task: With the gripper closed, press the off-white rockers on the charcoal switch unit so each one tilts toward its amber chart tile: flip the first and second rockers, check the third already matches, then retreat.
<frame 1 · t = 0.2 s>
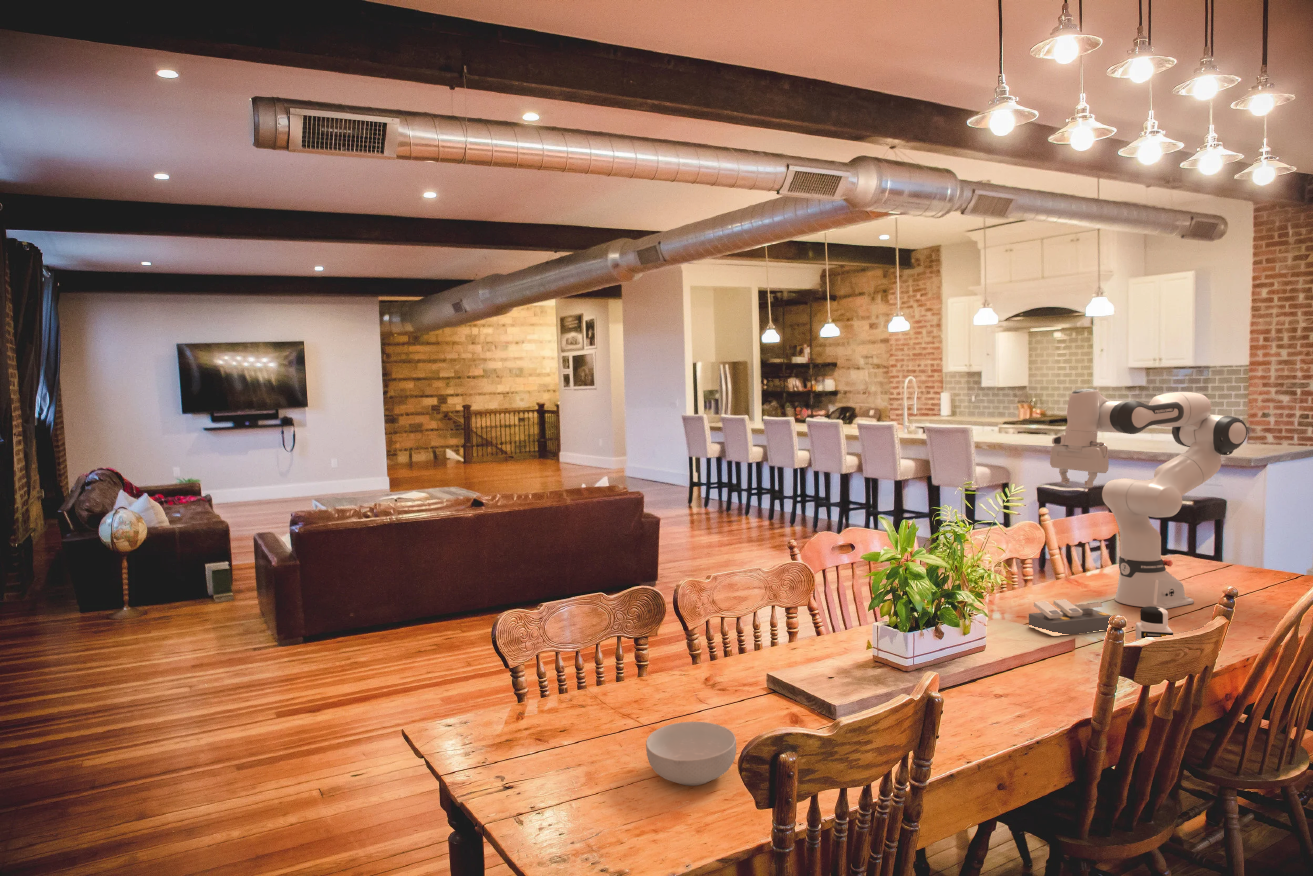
hand: (1076, 485, 251), 39 cm above the table, tool pointing down, fingers open, 8 cm apart
cereal bowl: (692, 777, 151), on the table
rocker 2: (1067, 607, 232), point 6 cm above the table, hinge at -16.0°
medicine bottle: (1154, 654, 210), on the table
rocker 1: (1087, 605, 234), point 6 cm above the table, hinge at 16.0°
rocker 3: (1048, 609, 231), point 6 cm above the table, hinge at -16.0°
switch unit: (1070, 628, 233), on the table
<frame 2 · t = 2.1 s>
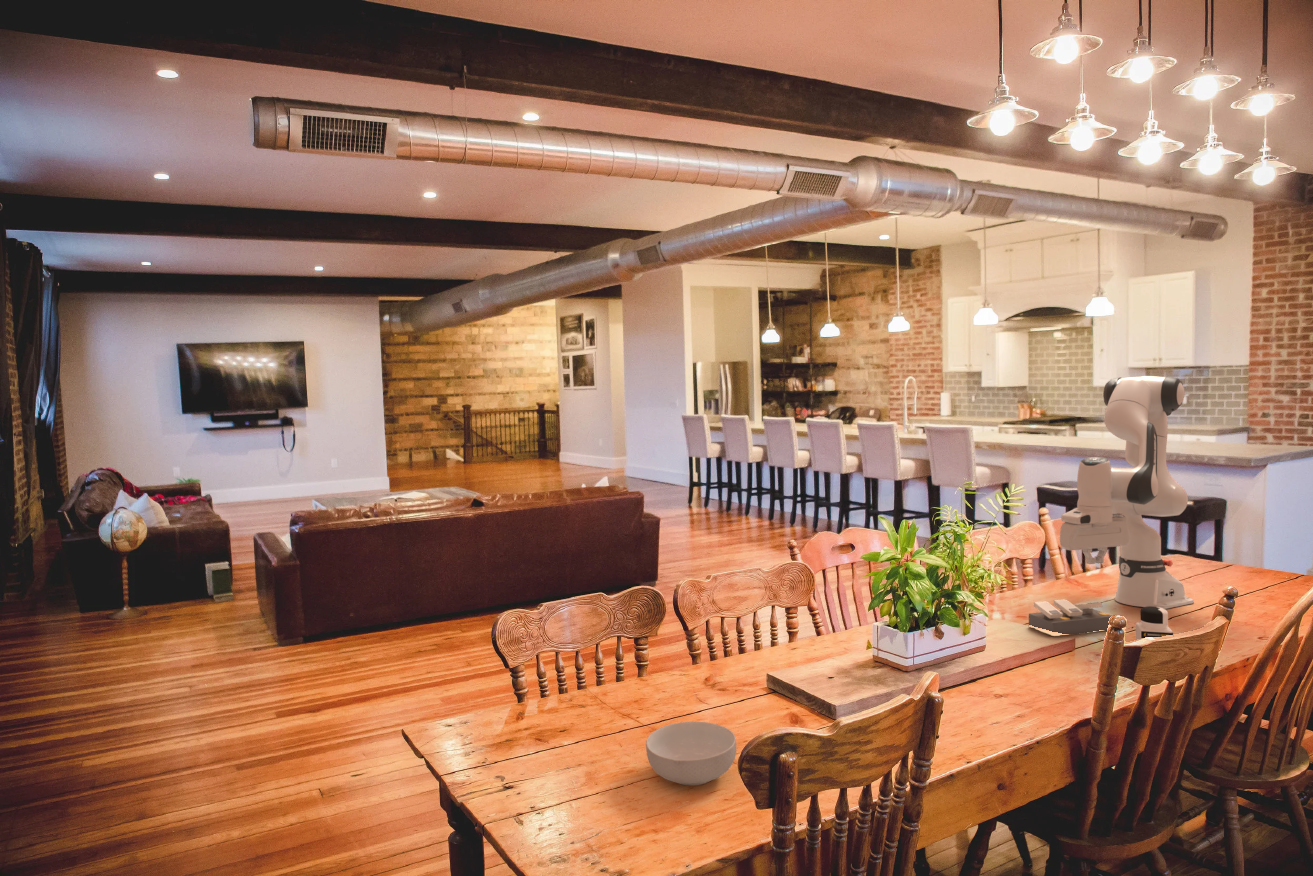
hand: (1094, 563, 230), 19 cm above the table, tool pointing down, fingers closed
nothing on the table moved.
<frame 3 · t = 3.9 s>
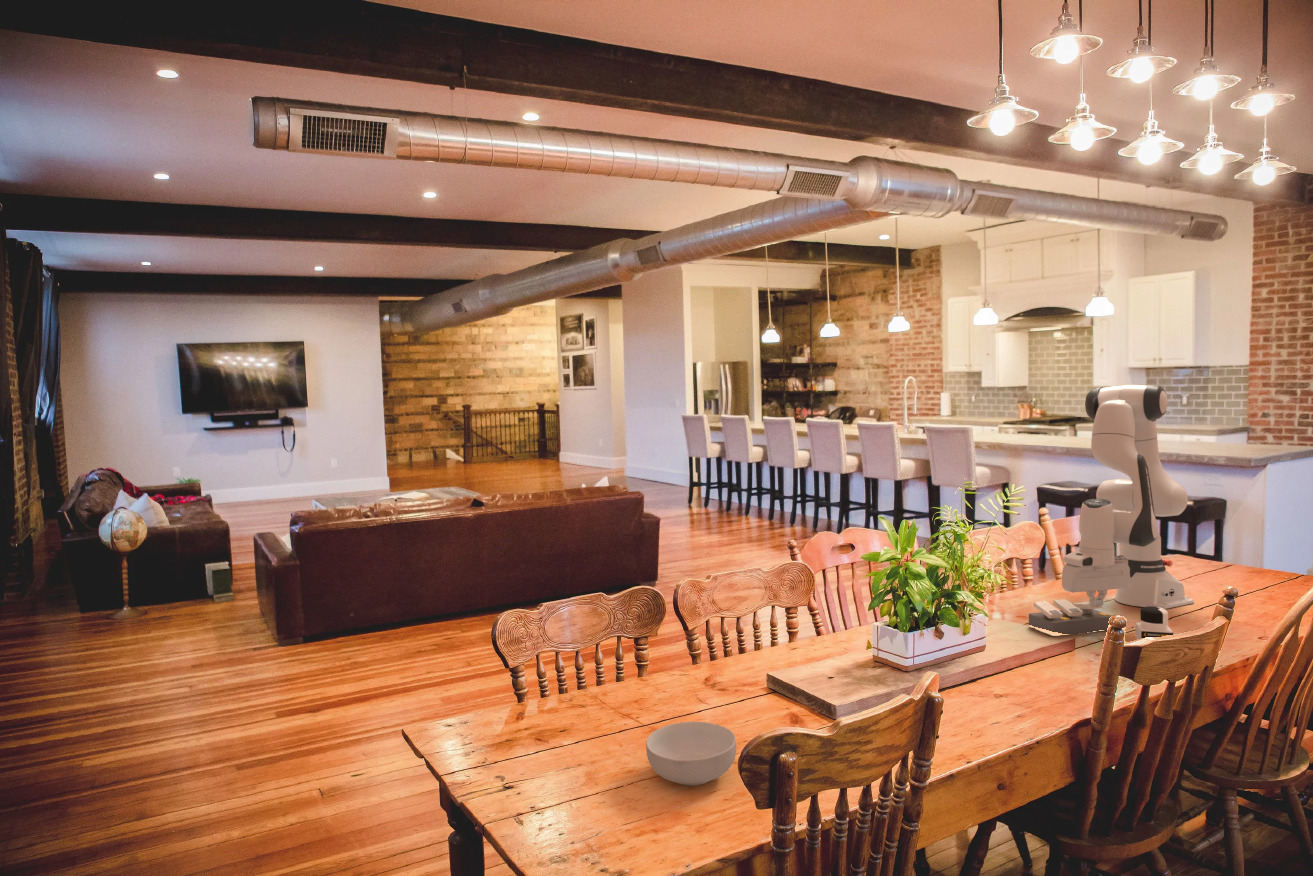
hand: (1096, 605, 230), 7 cm above the table, tool pointing down, fingers closed, pressing on rocker 1
rocker 1: (1087, 605, 234), point 6 cm above the table, hinge at 9.5°, touching gripper
everything else where it was.
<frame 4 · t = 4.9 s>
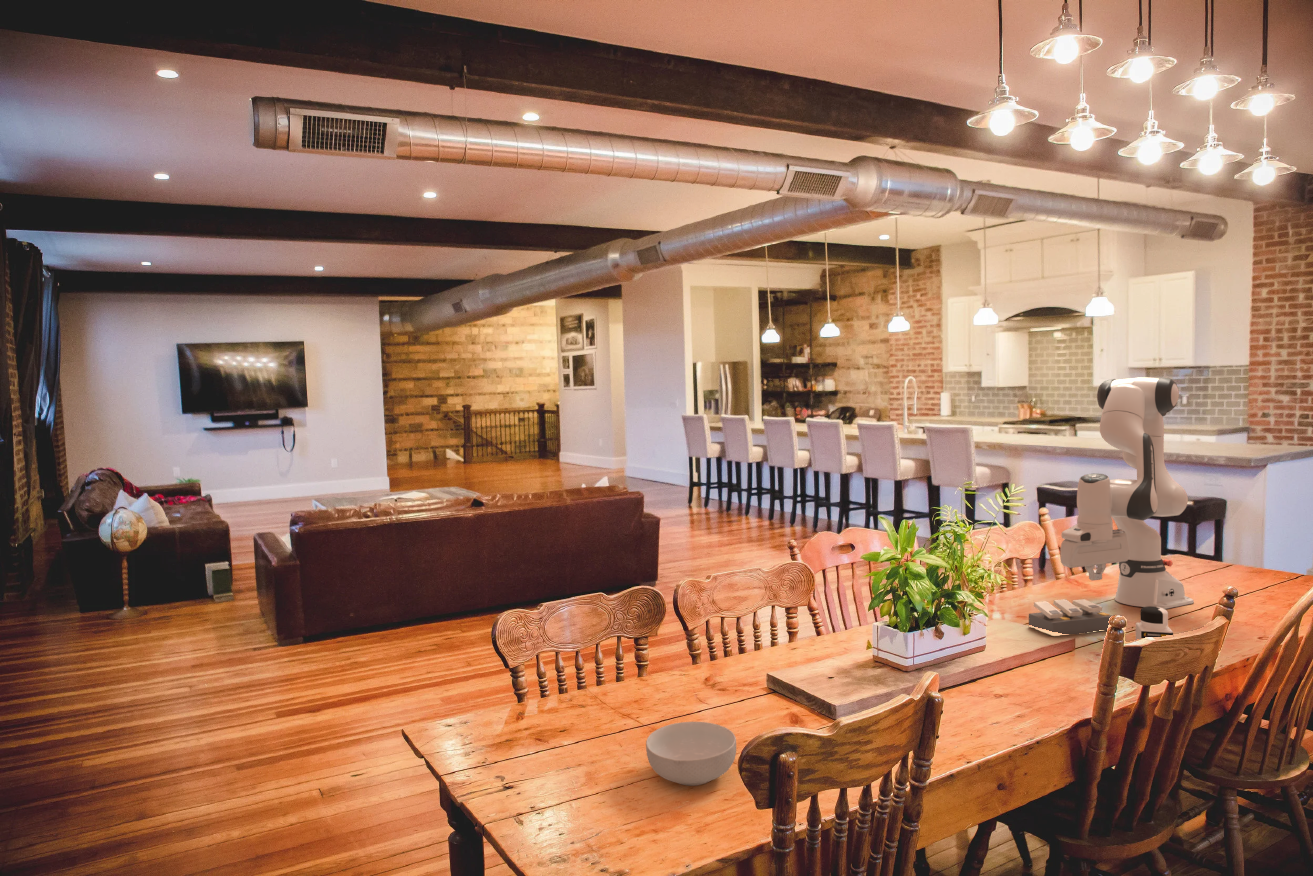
hand: (1095, 579, 231), 14 cm above the table, tool pointing down, fingers closed
rocker 1: (1087, 605, 234), point 6 cm above the table, hinge at -5.1°
everything else where it was.
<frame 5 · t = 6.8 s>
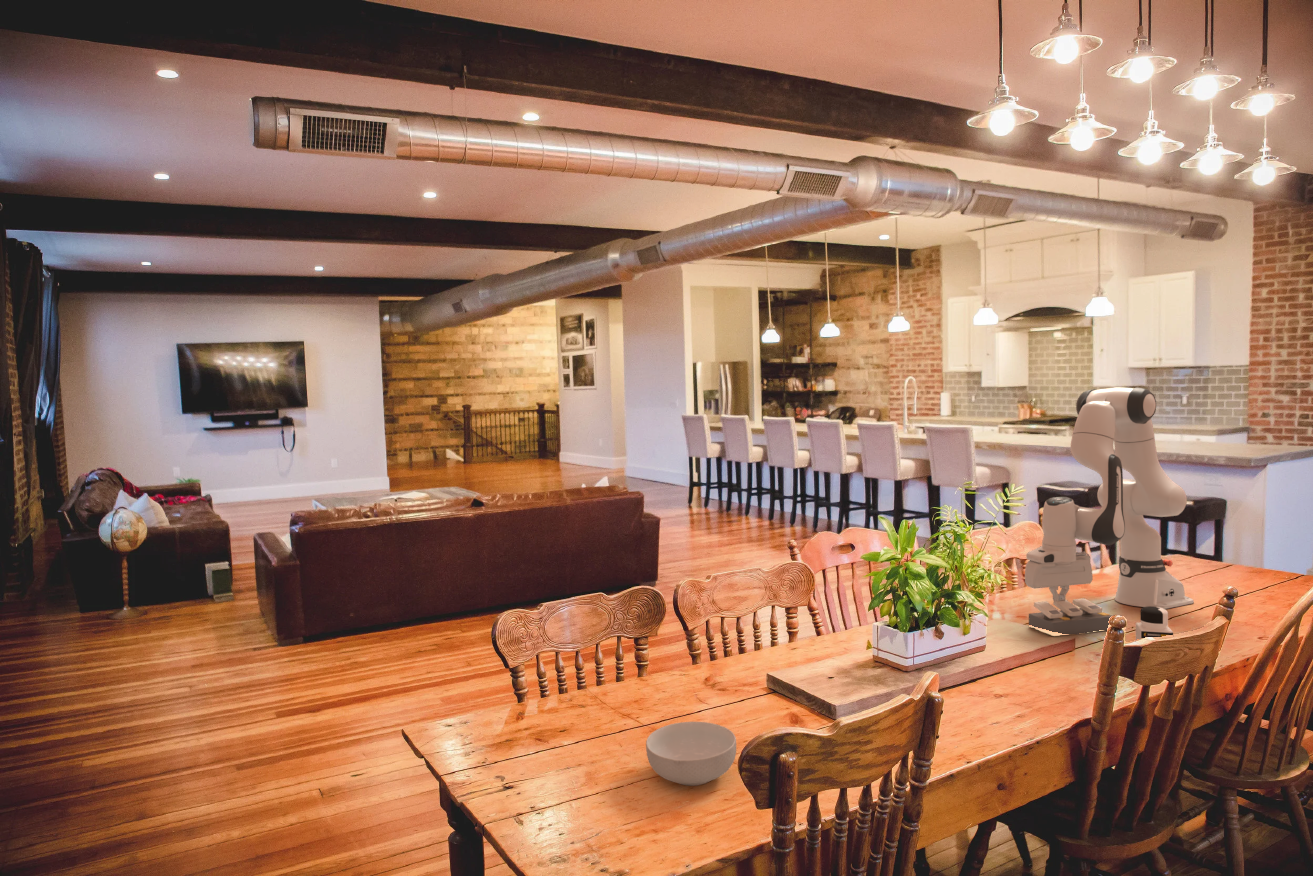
hand: (1059, 600, 235), 7 cm above the table, tool pointing down, fingers closed, pressing on rocker 2
rocker 2: (1067, 607, 232), point 6 cm above the table, hinge at -15.1°, touching gripper
rocker 1: (1087, 605, 234), point 6 cm above the table, hinge at -9.9°
everything else where it was.
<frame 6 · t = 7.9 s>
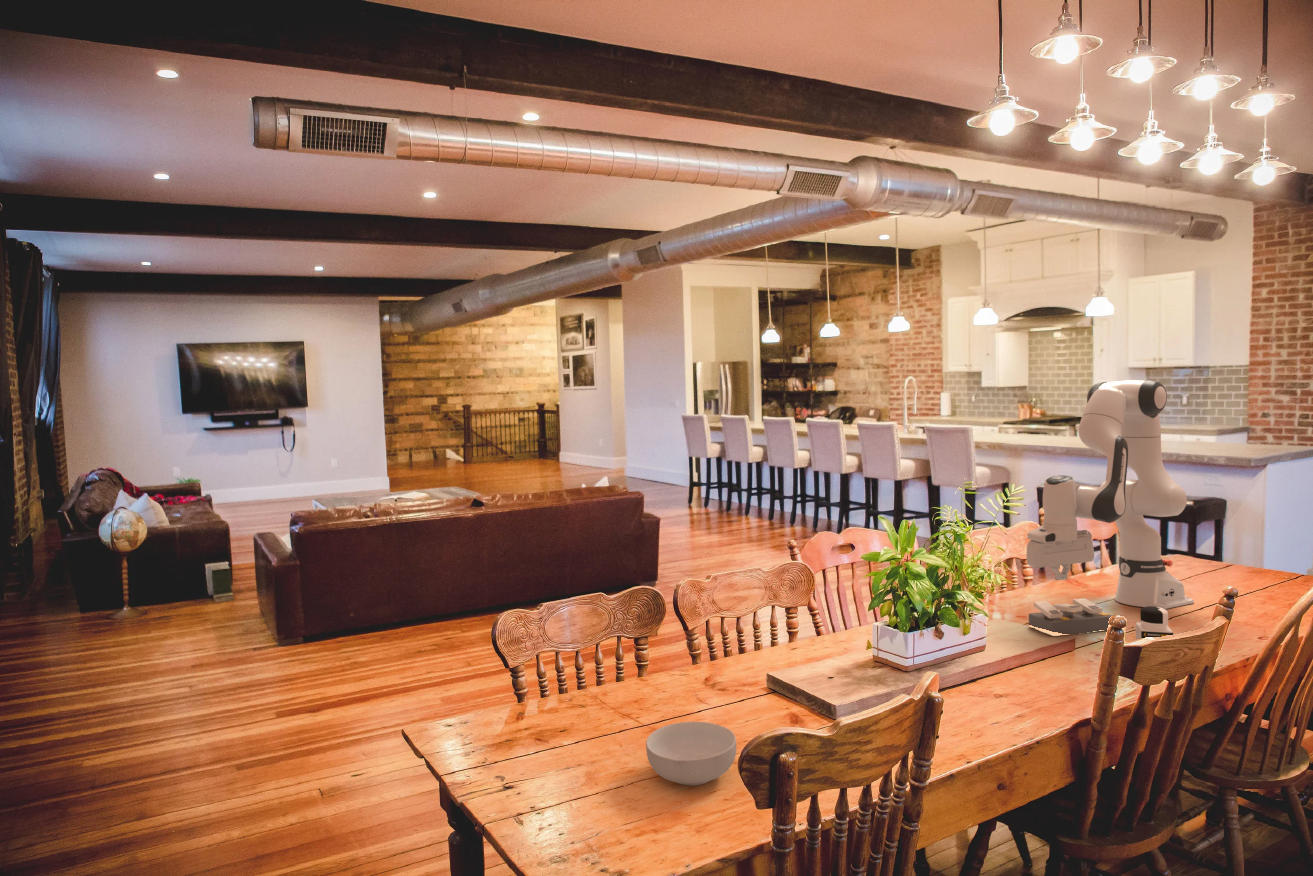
hand: (1061, 579, 235), 14 cm above the table, tool pointing down, fingers closed
rocker 2: (1067, 607, 232), point 6 cm above the table, hinge at 5.9°
rocker 1: (1087, 605, 234), point 6 cm above the table, hinge at -10.4°
everything else where it was.
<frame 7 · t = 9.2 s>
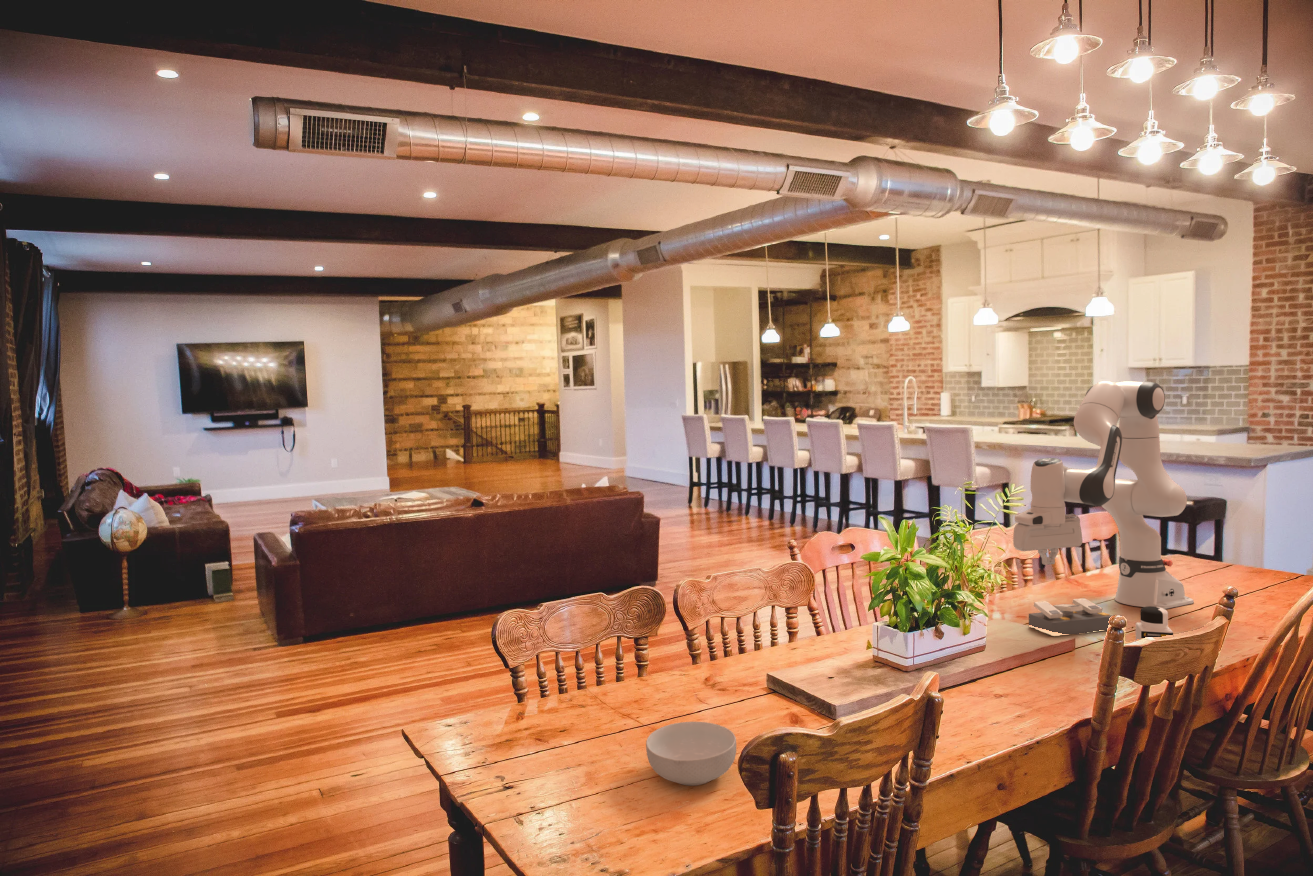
hand: (1048, 564, 231), 19 cm above the table, tool pointing down, fingers closed
rocker 2: (1067, 607, 232), point 6 cm above the table, hinge at 9.9°
everything else where it was.
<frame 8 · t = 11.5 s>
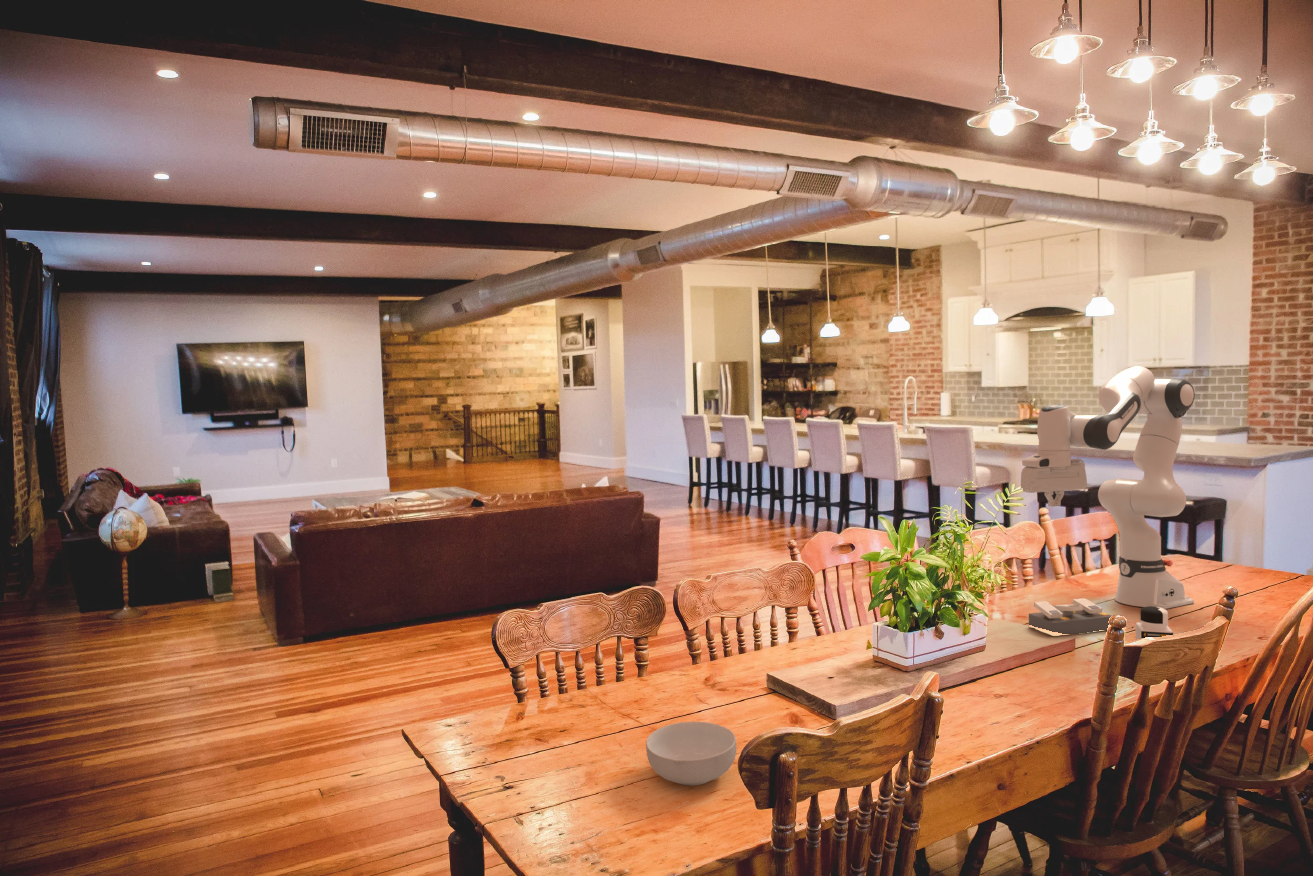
hand: (1054, 506, 240), 34 cm above the table, tool pointing down, fingers closed
rocker 2: (1067, 607, 232), point 6 cm above the table, hinge at 11.1°
everything else where it was.
at the end: rocker 1 at -11° (first picture: +16°); rocker 2 at +11° (first picture: -16°); rocker 3 at -16° (first picture: -16°) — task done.
